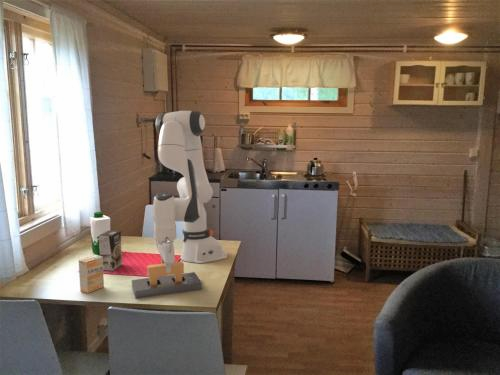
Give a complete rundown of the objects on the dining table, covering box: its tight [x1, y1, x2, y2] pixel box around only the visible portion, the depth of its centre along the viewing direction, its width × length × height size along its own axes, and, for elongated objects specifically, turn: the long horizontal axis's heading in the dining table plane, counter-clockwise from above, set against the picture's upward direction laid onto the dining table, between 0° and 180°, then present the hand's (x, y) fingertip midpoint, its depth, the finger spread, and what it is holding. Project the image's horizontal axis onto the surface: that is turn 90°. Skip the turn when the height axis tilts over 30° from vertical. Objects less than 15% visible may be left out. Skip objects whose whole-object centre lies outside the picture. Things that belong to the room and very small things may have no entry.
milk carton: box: [89, 211, 111, 256], centre depth 228 cm, size 9×9×20 cm
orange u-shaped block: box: [146, 260, 185, 286], centre depth 185 cm, size 14×3×10 cm, turn 111°
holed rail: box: [131, 271, 203, 300], centre depth 185 cm, size 26×12×3 cm, turn 110°
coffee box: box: [99, 230, 123, 272], centre depth 208 cm, size 9×6×16 cm
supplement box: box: [78, 254, 105, 295], centre depth 183 cm, size 8×5×13 cm, turn 148°
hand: (166, 267), depth 184 cm, fingers open, 8 cm apart
